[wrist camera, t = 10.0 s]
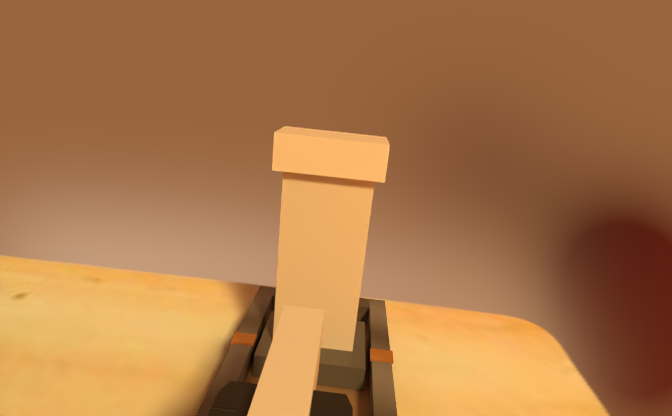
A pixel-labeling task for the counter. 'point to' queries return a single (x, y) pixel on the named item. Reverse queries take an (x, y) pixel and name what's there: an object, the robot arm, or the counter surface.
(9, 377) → the counter surface
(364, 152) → the fader knob
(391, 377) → the fader rail
